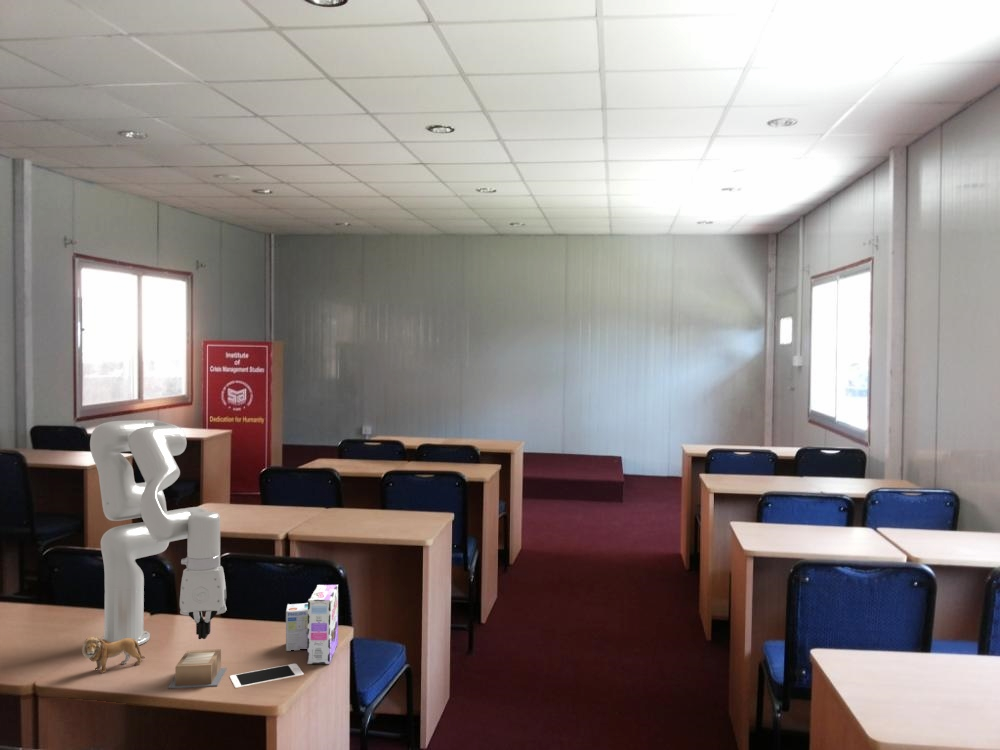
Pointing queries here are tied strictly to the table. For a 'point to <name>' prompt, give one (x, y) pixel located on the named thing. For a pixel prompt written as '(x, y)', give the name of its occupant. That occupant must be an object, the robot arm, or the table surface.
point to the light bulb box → (296, 626)
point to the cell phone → (266, 675)
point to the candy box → (322, 624)
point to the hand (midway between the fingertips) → (203, 637)
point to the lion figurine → (110, 650)
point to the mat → (214, 683)
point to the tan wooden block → (198, 667)
